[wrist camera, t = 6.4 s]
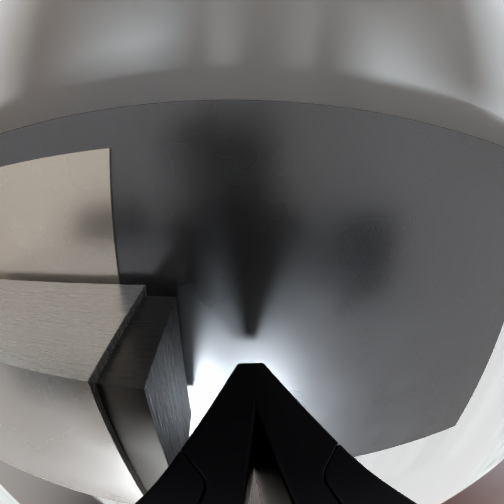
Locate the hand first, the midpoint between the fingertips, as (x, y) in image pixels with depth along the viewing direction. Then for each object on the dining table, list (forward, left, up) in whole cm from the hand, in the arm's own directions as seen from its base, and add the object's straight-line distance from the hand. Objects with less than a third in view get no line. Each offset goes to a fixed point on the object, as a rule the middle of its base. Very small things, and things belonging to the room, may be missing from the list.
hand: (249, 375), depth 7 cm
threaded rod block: (0, +7, -1) cm, 7 cm away
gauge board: (0, +4, -2) cm, 5 cm away
